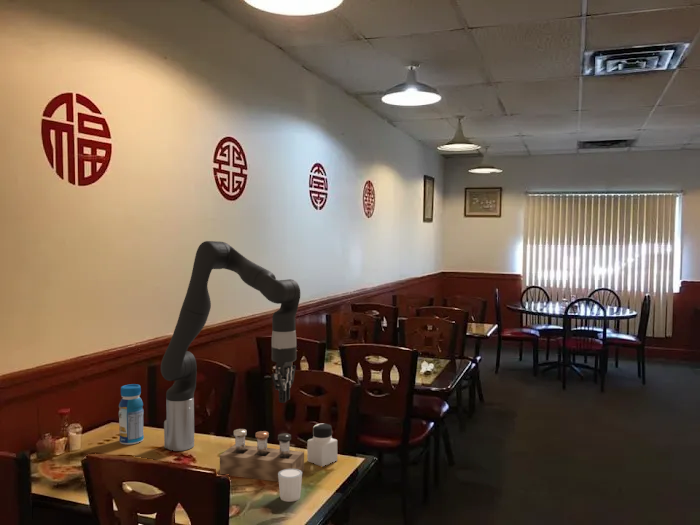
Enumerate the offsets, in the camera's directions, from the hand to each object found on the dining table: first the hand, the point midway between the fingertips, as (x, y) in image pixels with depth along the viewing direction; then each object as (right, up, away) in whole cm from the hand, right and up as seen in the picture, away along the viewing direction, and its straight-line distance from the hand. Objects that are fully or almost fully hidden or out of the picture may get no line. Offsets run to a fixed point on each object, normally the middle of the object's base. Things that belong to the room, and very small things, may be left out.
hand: (284, 400), depth 182 cm
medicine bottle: (+11, -23, +12) cm, 28 cm away
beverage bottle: (-58, -22, +31) cm, 70 cm away
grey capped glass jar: (0, -18, +1) cm, 18 cm away
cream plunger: (-14, -18, +5) cm, 23 cm away
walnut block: (-7, -23, +3) cm, 24 cm away
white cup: (+3, -24, -15) cm, 28 cm away
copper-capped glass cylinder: (-7, -18, +3) cm, 19 cm away
